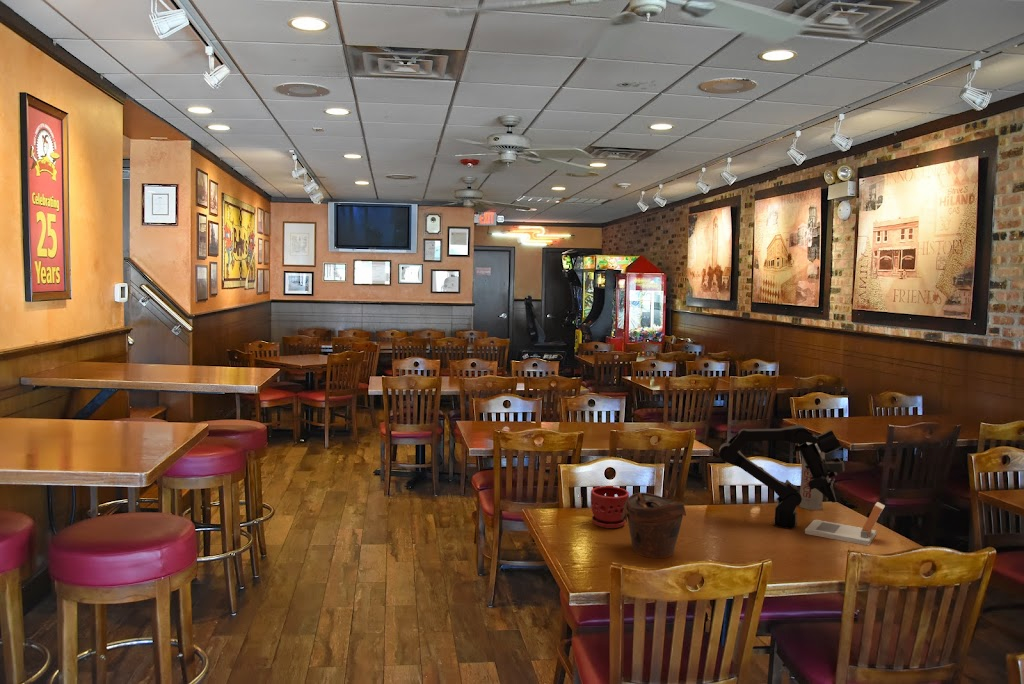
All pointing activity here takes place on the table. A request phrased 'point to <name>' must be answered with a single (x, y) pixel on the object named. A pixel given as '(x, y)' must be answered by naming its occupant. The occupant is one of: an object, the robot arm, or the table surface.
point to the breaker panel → (840, 532)
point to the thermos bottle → (809, 496)
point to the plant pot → (608, 506)
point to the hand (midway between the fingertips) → (834, 502)
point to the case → (653, 524)
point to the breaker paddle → (873, 517)
